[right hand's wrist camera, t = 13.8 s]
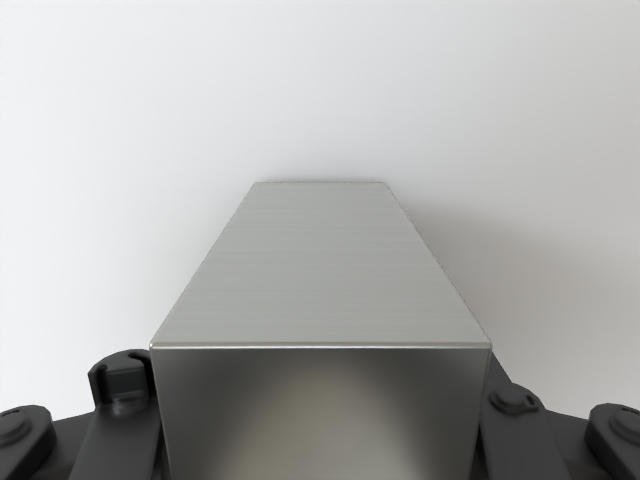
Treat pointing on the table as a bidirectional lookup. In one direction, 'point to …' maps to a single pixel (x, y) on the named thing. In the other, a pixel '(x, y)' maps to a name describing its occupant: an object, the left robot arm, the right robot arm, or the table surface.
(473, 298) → the table surface
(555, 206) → the table surface
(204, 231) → the table surface
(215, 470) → the bar
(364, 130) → the table surface
